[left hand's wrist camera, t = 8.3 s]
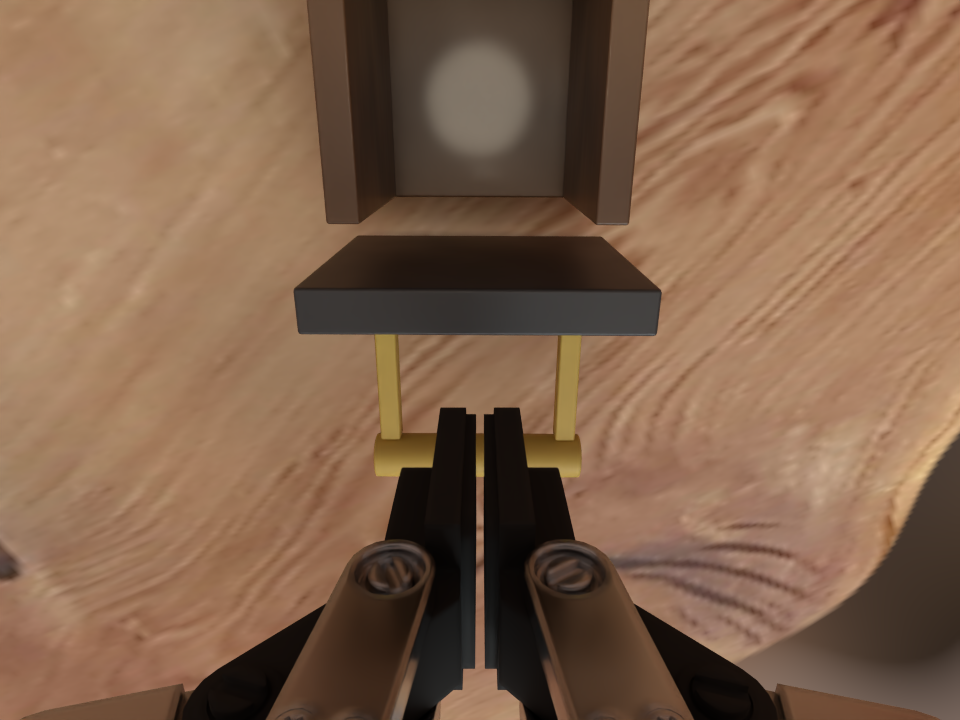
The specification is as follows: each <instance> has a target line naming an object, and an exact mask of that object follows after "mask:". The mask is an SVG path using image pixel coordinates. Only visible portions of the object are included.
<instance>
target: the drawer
mask: <svg viewBox="0 0 960 720" xmlns="http://www.w3.org/2000/svg"><path fill="white" fill-rule="evenodd" d="M649 2H650V0H307V9H308V20H309V31H310V43H311V54H312V65H313V76H314V87H315V98H316V110H317V121H318V132H319V143H320V154H321V166H322V177H323V188H324V199H325V210H326V221H327V223H328V224H359V223H361V222H362V221H363V220H365V219H366V218H367V217H369V216H370V215H371V214H373V213H374V212H375V211H377V210H378V209H379V208H381V207H382V206H383V205H385V204H386V203H387V202H389V201H390V200H391V199H393V198H394V197H564V198H565V199H566V200H567V201H569V202H570V203H571V204H572V205H573V206H575V207H576V208H577V209H578V210H579V211H581V212H582V213H583V214H584V215H585V216H587V217H588V218H589V219H590V220H591V221H593V222H594V223H595V224H596V225H628V224H629V217H630V206H631V195H632V185H633V174H634V163H635V152H636V142H637V131H638V120H639V110H640V99H641V88H642V77H643V67H644V56H645V45H646V34H647V24H648V13H649ZM661 294H662V292H661V290H660V289H659V288H658V287H657V286H656V285H655V284H653V283H652V282H651V281H650V280H649V279H648V278H647V277H646V276H645V275H643V274H642V273H641V272H640V271H639V270H638V269H637V268H636V267H635V266H633V265H632V264H631V263H630V262H629V261H628V260H627V259H626V258H625V257H623V256H622V255H621V254H620V253H619V252H618V251H617V250H616V249H615V248H613V247H612V246H611V245H610V244H609V243H608V242H607V241H606V240H605V239H603V238H602V237H557V236H357V237H355V238H354V239H353V240H352V241H351V242H349V243H348V244H347V245H346V246H345V247H343V248H342V249H341V250H340V251H339V252H337V253H336V254H335V255H334V256H333V257H331V258H330V259H329V260H328V261H327V262H325V263H324V264H323V265H322V266H321V267H319V268H318V269H317V270H316V271H315V272H313V273H312V274H311V275H310V276H309V277H307V278H306V279H305V280H304V281H303V282H301V283H300V284H299V285H298V286H297V287H295V288H294V300H295V308H296V317H297V326H298V332H299V333H300V334H374V335H375V351H376V366H377V381H378V397H379V412H380V428H381V433H378V434H377V436H376V440H375V445H374V469H375V473H376V475H377V476H400V472H401V469H402V468H403V467H432V465H433V458H434V451H435V443H436V436H437V433H402V431H403V426H402V406H401V386H400V366H399V346H398V335H558V348H557V367H556V385H555V404H554V422H553V433H554V434H523V436H524V443H525V451H526V458H527V465H528V467H557V468H558V469H559V472H560V476H561V477H579V475H580V472H581V460H582V456H581V443H580V438H579V436H578V435H577V434H575V423H576V409H577V394H578V380H579V365H580V351H581V336H654V335H656V334H657V328H658V320H659V311H660V303H661ZM476 477H484V434H483V433H476Z"/></svg>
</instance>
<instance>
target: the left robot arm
mask: <svg viewBox="0 0 960 720" xmlns="http://www.w3.org/2000/svg"><path fill="white" fill-rule="evenodd" d="M475 614H476V414H466V408H440V415H439V422H438V429H437V436H436V443H435V451H434V458H433V465H432V467H403V468H402V469H401V472H400V476H399V480H398V484H397V489H396V493H395V498H394V502H393V506H392V511H391V515H390V519H389V524H388V528H387V532H386V537H385V541H380V542H376V543H373V544H371V545H369V546H366V547H364V548H363V549H361V550H360V551H359V552H357V553H356V554H355V555H354V556H353V557H352V558H351V559H350V561H349V562H348V563H347V565H346V567H345V569H344V571H343V573H342V575H341V577H340V578H339V580H338V582H337V584H336V586H335V588H334V590H333V592H332V594H331V596H330V598H329V600H328V601H327V603H326V604H325V605H323V606H321V607H320V608H318V609H316V610H315V611H313V612H311V613H310V614H308V615H306V616H305V617H303V618H301V619H300V620H298V621H297V622H295V623H293V624H292V625H290V626H288V627H287V628H285V629H283V630H282V631H280V632H278V633H277V634H275V635H273V636H272V637H270V638H268V639H267V640H265V641H264V642H262V643H260V644H259V645H257V646H255V647H254V648H252V649H250V650H249V651H247V652H245V653H244V654H242V655H240V656H239V657H237V658H235V659H234V660H232V661H231V662H229V663H227V664H226V665H224V666H222V667H221V668H219V669H217V670H216V671H215V672H213V673H212V674H211V675H209V676H208V677H207V678H205V679H204V680H203V681H202V682H201V683H200V684H199V686H198V687H197V688H196V689H195V690H193V691H188V692H185V691H184V687H183V684H178V685H173V686H168V687H163V688H158V689H152V690H147V691H142V692H137V693H132V694H127V695H122V696H117V697H111V698H106V699H101V700H96V701H91V702H86V703H81V704H76V705H71V706H65V707H60V708H55V709H50V710H45V711H42V712H39V713H36V714H33V715H30V716H26V717H24V718H22V719H20V720H440V712H441V700H442V699H443V698H444V697H446V696H447V695H448V694H449V693H450V692H451V691H453V690H462V686H463V669H475ZM484 614H485V669H497V686H498V690H507V691H509V692H510V693H511V694H512V695H513V696H514V697H516V698H517V699H518V700H519V712H520V720H940V719H938V718H936V717H933V716H930V715H927V714H924V713H921V712H918V711H915V710H910V709H905V708H900V707H894V706H889V705H884V704H879V703H874V702H869V701H864V700H859V699H854V698H849V697H843V696H838V695H833V694H828V693H823V692H818V691H812V690H807V689H802V688H797V687H792V686H787V685H782V684H777V687H776V691H775V692H772V691H767V690H765V689H764V688H763V687H762V686H761V684H760V683H759V682H758V681H757V680H756V679H754V678H753V677H752V676H751V675H749V674H748V673H747V672H745V671H744V670H743V669H741V668H739V667H738V666H736V665H734V664H733V663H731V662H729V661H728V660H726V659H725V658H723V657H721V656H720V655H718V654H716V653H715V652H713V651H711V650H710V649H708V648H706V647H705V646H703V645H701V644H700V643H698V642H696V641H695V640H693V639H692V638H690V637H688V636H687V635H685V634H683V633H682V632H680V631H678V630H677V629H675V628H673V627H672V626H670V625H668V624H667V623H665V622H663V621H662V620H660V619H659V618H657V617H655V616H654V615H652V614H650V613H649V612H647V611H645V610H644V609H642V608H640V607H639V606H637V605H635V604H634V603H633V601H632V600H631V598H630V596H629V594H628V592H627V590H626V588H625V586H624V584H623V582H622V580H621V578H620V577H619V575H618V573H617V571H616V569H615V567H614V565H613V563H612V562H611V561H610V559H609V558H608V557H607V556H606V555H605V554H604V553H603V552H601V551H600V550H599V549H597V548H596V547H594V546H591V545H589V544H587V543H584V542H580V541H575V537H574V532H573V528H572V524H571V519H570V515H569V511H568V506H567V502H566V498H565V493H564V489H563V484H562V480H561V476H560V472H559V469H558V468H557V467H528V465H527V458H526V451H525V443H524V436H523V429H522V422H521V415H520V408H494V414H484Z"/></svg>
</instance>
